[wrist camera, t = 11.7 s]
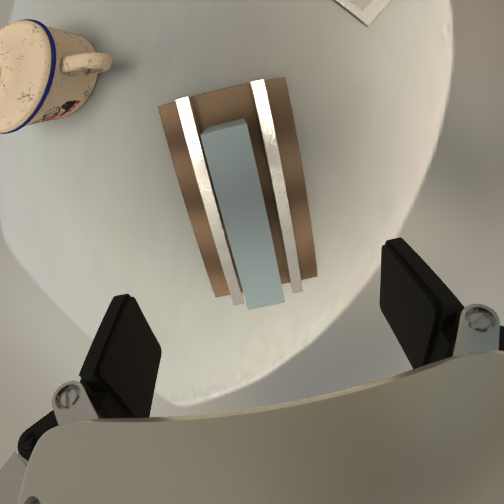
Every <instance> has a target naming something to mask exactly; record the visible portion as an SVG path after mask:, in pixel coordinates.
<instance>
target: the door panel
mask: <svg viewBox="0 0 504 504" xmlns="http://www.w3.org/2000/svg"><path fill="white" fill-rule="evenodd" d="M200 136H201V140H202V144H203V148H204V151H205V155H206V159H207V163H208V166H209V170H210V174H211V178H212V181H213V185H214V189H215V192H216V196H217V200H218V203H219V207H220V211H221V214H222V218H223V221H224V225H225V229H226V232H227V236H228V239H229V243H230V247H231V250H232V254H233V257H234V261H235V264H236V268H237V271H238V275H239V278H240V282H241V285H242V289H243V292H244V296H245V299H246V302H247V306H248V309H254V308H259V307H264V306H269V305H273V304H278V303H283V302H285V300H284V295H283V290H282V285H281V280H280V275H279V270H278V265H277V260H276V255H275V250H274V246H273V241H272V236H271V231H270V227H269V222H268V217H267V212H266V208H265V203H264V199H263V194H262V189H261V185H260V180H259V176H258V171H257V167H256V162H255V158H254V153H253V149H252V145H251V140H250V136H249V131H248V127H247V123H246V121H245V120H244V118H242V119H238V120H234V121H229V122H225V123H221V124H217V125H213V126H209V127H208V128H207V129H206V130H205V131H204V132H203V133H202V134H201V135H200Z"/></svg>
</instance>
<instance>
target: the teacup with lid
mask: <svg viewBox="0 0 504 504" xmlns="http://www.w3.org/2000/svg"><path fill="white" fill-rule="evenodd" d="M111 65H112V57H111V56H110V55H109V54H106V53H98V52H96V51H95V49H94V47H93V46H92V44H91V43H90V42H89V41H88V40H86V39H85V38H83V37H81V36H78V35H75V34H71V33H68V32H65V31H61V30H58V29H54V28H51V27H47V26H45V25H44V24H42V23H41V22H39V21H36V20H30V19H26V20H20V21H17V22H14V23H11V24H9V25H7V26H6V27H4V28H3V29H1V30H0V134H7V133H12V132H15V131H17V130H19V129H21V128H22V127H24V126H27V125H31V124H35V123H39V122H44V121H48V120H53V119H58V118H62V117H66V116H68V115H70V114H72V113H73V112H75V111H76V110H78V109H79V108H80V107H81V106H82V105H83V104H84V103H85V101H86V100H87V99H88V97H89V96H90V94H91V92H92V90H93V88H94V86H95V83H96V80H97V75H98V73H100V72H104V71H107V70H108V69H110V68H111Z"/></svg>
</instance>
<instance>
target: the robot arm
mask: <svg viewBox="0 0 504 504" xmlns="http://www.w3.org/2000/svg"><path fill="white" fill-rule="evenodd" d="M380 308H381V311H382V313H383V314H384V316H385V318H386V320H387V321H388V323H389V325H390V327H391V328H392V330H393V332H394V334H395V335H396V337H397V339H398V341H399V343H400V345H401V346H402V349H403V350H404V352H405V354H406V356H407V358H408V360H409V362H410V364H411V365H412V367H413V370H410V371H407V372H404V373H401V374H398V375H394V376H391V377H388V378H384V379H381V380H378V381H374V382H371V383H368V384H364V385H360V386H357V387H354V388H349V389H345V390H341V391H337V392H333V393H329V394H325V395H321V396H317V397H312V398H307V399H302V400H297V401H292V402H287V403H282V404H276V405H271V406H264V407H258V408H251V409H244V410H236V411H228V412H220V413H212V414H211V413H210V414H201V415H188V416H172V417H149V415H150V410H151V404H152V399H153V394H154V389H155V383H156V378H157V373H158V368H159V364H160V359H161V347H160V345H159V343H158V341H157V339H156V337H155V336H154V334H153V332H152V330H151V328H150V326H149V324H148V323H147V321H146V319H145V317H144V315H143V313H142V311H141V309H140V307H139V305H138V303H137V301H136V299H135V298H134V297H131V296H130V295H129V294H124V295H118V296H114V297H113V299H112V301H111V303H110V305H109V307H108V309H107V312H106V314H105V316H104V318H103V320H102V322H101V325H100V327H99V329H98V331H97V333H96V336H95V338H94V340H93V342H92V345H91V347H90V349H89V352H88V354H87V356H86V359H85V361H84V364H83V366H82V369H81V371H80V374H79V376H80V377H81V381H80V382H77V381H69V382H66V383H64V384H62V385H61V386H60V387H59V388H58V389H57V390H56V391H55V393H54V395H53V398H52V407H53V411H51V412H50V413H49V414H47V415H46V416H44V417H43V418H42V419H40V420H39V421H38V422H36V423H35V424H34V425H32V426H31V427H30V428H28V429H27V430H26V431H25V432H24V433H23V434H22V435H21V437H20V439H19V441H18V452H19V453H18V454H17V453H16V452H14V453H13V455H12V456H11V457H10V458H9V460H8V461H7V462H6V463H5V465H4V466H3V467H2V468H1V470H0V504H504V326H500V321H499V318H498V315H497V313H496V312H495V311H494V310H493V309H491V308H490V307H488V306H485V305H482V304H472V305H469V306H467V307H464V306H463V305H462V304H461V303H460V301H459V300H458V299H457V298H456V297H455V295H454V294H453V293H452V292H451V291H450V289H449V288H448V287H447V286H446V285H445V284H444V283H443V281H442V280H441V279H440V278H439V277H438V276H437V275H436V274H435V273H434V271H433V270H432V269H431V268H430V267H429V266H428V265H427V264H426V263H425V262H424V261H423V259H421V257H420V256H419V255H418V254H417V253H416V252H415V251H414V250H413V249H412V248H411V247H410V246H409V245H408V244H407V243H406V242H405V241H404V240H403V239H402V238H395V239H391V240H387V241H386V243H385V245H383V246H382V253H381V286H380Z"/></svg>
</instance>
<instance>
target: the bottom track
mask: <svg viewBox="0 0 504 504" xmlns="http://www.w3.org/2000/svg"><path fill="white" fill-rule="evenodd" d="M158 109H159V113H160V116H161V120H162V124H163V128H164V131H165V135H166V139H167V142H168V146H169V150H170V153H171V157H172V160H173V164H174V167H175V171H176V174H177V178H178V181H179V184H180V188H181V191H182V194H183V198H184V201H185V204H186V208H187V211H188V214H189V217H190V221H191V224H192V227H193V230H194V233H195V236H196V240H197V243H198V246H199V249H200V252H201V255H202V258H203V261H204V264H205V267H206V270H207V273H208V276H209V279H210V282H211V285H212V288H213V291H214V294H215V297H220V296H226V295H231V297H232V301H233V304H234V305H239V304H244V299H243V289H242V285H241V282H240V278H239V275H238V271H237V268H236V264H235V261H234V257H233V254H232V250H231V247H230V243H229V239H228V236H227V232H226V229H225V225H224V221H223V218H222V214H221V211H220V207H219V203H218V200H217V196H216V192H215V189H214V185H213V181H212V178H211V174H210V170H209V166H208V163H207V159H206V155H205V151H204V148H203V144H202V140H201V136H200V135H201V134H202V133H203V132H204V131H205V130H206V129H207V128H208V127H209V126H213V125H217V124H221V123H225V122H229V121H234V120H238V119H242V118H244V120H245V121H246V123H247V127H248V131H249V136H250V140H251V145H252V149H253V153H254V158H255V162H256V167H257V171H258V176H259V180H260V185H261V189H262V194H263V199H264V203H265V208H266V212H267V217H268V222H269V227H270V231H271V236H272V241H273V246H274V250H275V255H276V260H277V265H278V270H279V275H280V280H281V284H284V283H289V282H290V285H291V288H292V292H293V293H297V292H301V291H303V290H302V283H301V280H303V279H307V278H312V277H316V276H317V268H316V260H315V252H314V244H313V236H312V229H311V222H310V215H309V208H308V201H307V195H306V188H305V182H304V176H303V170H302V164H301V158H300V152H299V147H298V141H297V136H296V130H295V125H294V120H293V115H292V110H291V105H290V100H289V95H288V90H287V86H286V81H285V77H283V78H276V79H270V80H265V81H264V79H263V80H257V81H252V82H250V83H248V84H244V85H239V86H234V87H229V88H225V89H221V90H216V91H212V92H208V93H204V94H201V95H197V96H193V97H185V98H181V99H178V100H176V101H175V102H172V103H169V104H166V105H162V106H159V107H158Z"/></svg>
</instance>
